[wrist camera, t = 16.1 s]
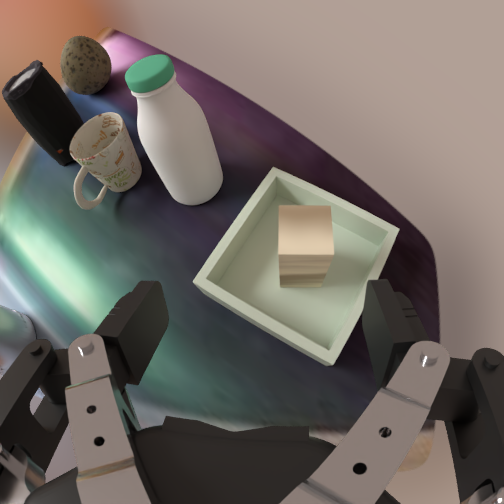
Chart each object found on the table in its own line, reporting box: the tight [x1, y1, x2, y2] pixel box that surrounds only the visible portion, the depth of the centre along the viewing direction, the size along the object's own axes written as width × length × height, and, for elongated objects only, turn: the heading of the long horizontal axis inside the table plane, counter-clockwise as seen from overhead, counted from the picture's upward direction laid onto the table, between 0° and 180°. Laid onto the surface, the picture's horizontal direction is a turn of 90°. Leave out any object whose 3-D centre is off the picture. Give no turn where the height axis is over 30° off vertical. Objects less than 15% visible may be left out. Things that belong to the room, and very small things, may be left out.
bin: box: [193, 167, 399, 366], centre depth 33 cm, size 16×16×5 cm
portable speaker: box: [2, 60, 84, 166], centre depth 39 cm, size 9×9×20 cm
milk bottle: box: [125, 55, 223, 205], centre depth 32 cm, size 8×8×20 cm
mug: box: [70, 112, 142, 210], centre depth 38 cm, size 8×13×10 cm, turn 163°
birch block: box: [278, 205, 334, 288], centre depth 30 cm, size 4×4×10 cm
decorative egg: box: [61, 36, 111, 95], centre depth 48 cm, size 11×11×15 cm
